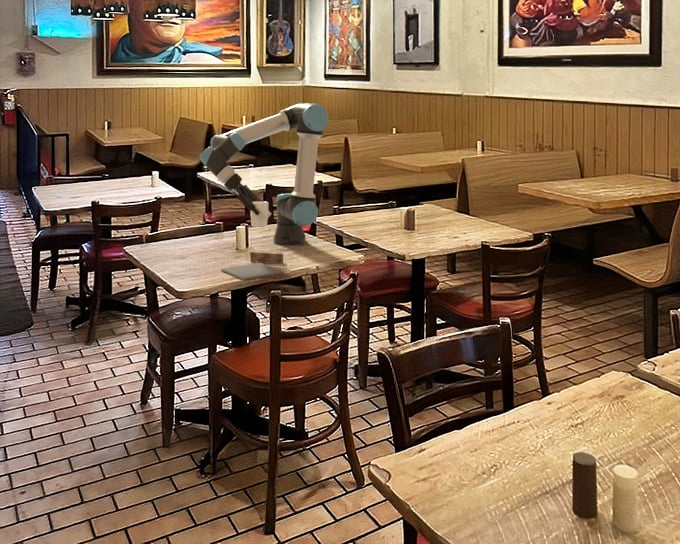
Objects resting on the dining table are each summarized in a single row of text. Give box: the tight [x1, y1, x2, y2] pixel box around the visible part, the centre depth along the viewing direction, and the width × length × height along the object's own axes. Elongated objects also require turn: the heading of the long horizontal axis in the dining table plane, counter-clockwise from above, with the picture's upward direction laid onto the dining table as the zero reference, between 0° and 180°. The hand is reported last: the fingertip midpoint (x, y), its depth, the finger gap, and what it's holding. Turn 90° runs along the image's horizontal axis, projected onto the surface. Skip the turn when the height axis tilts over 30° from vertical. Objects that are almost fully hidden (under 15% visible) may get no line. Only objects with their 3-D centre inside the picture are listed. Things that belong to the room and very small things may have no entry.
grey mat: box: [221, 262, 284, 281], centre depth 302 cm, size 18×18×1 cm
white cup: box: [250, 200, 269, 228], centre depth 320 cm, size 8×8×10 cm
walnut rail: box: [249, 250, 284, 265], centre depth 318 cm, size 14×2×4 cm, turn 73°
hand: (267, 217), depth 320 cm, fingers closed on white cup, 8 cm apart
